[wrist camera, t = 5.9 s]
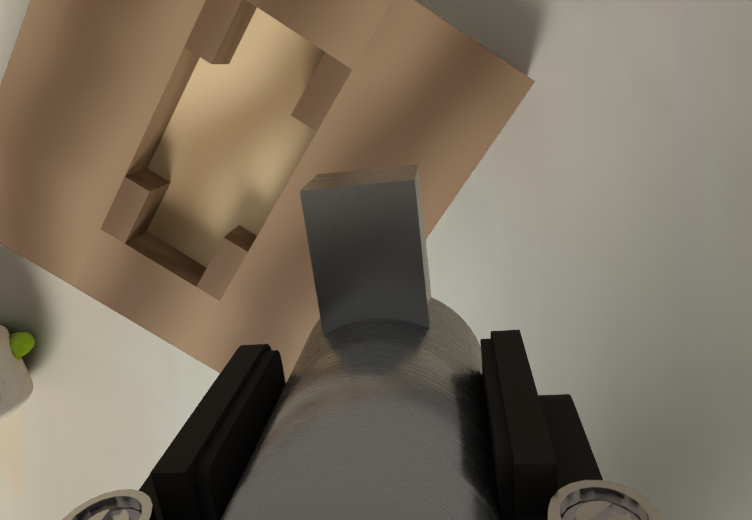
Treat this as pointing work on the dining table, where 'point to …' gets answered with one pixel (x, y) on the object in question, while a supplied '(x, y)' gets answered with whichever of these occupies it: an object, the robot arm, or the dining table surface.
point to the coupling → (374, 376)
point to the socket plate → (226, 147)
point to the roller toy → (14, 371)
